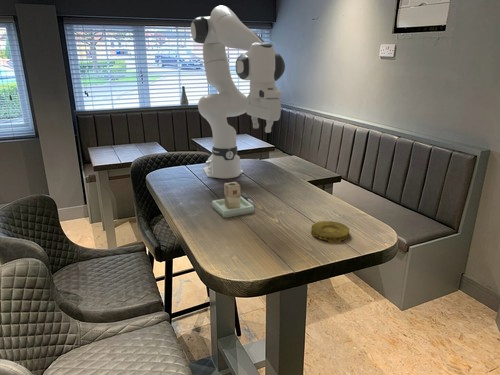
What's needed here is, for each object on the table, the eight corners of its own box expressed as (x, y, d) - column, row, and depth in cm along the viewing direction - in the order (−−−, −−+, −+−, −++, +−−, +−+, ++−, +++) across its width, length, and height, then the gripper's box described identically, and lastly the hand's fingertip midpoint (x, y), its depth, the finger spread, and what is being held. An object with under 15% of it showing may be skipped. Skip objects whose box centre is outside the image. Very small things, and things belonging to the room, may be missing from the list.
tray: (212, 206, 144) (212, 200, 143) (240, 202, 149) (240, 196, 148) (224, 218, 133) (223, 211, 133) (254, 212, 138) (254, 206, 138)
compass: (336, 247, 113) (336, 240, 113) (303, 235, 121) (303, 228, 120) (355, 234, 122) (356, 228, 121) (324, 224, 129) (324, 218, 129)
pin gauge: (240, 197, 154) (240, 193, 153) (244, 197, 154) (244, 193, 154) (252, 206, 144) (252, 202, 144) (256, 205, 145) (256, 201, 144)
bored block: (224, 206, 142) (224, 183, 139) (235, 204, 144) (235, 181, 141) (229, 210, 138) (229, 186, 135) (240, 208, 140) (240, 184, 137)
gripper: (241, 89, 140) (242, 126, 144) (267, 93, 123) (267, 135, 127) (257, 89, 143) (256, 125, 147) (284, 92, 125) (283, 134, 130)
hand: (261, 130), depth 137 cm, fingers open, 8 cm apart
